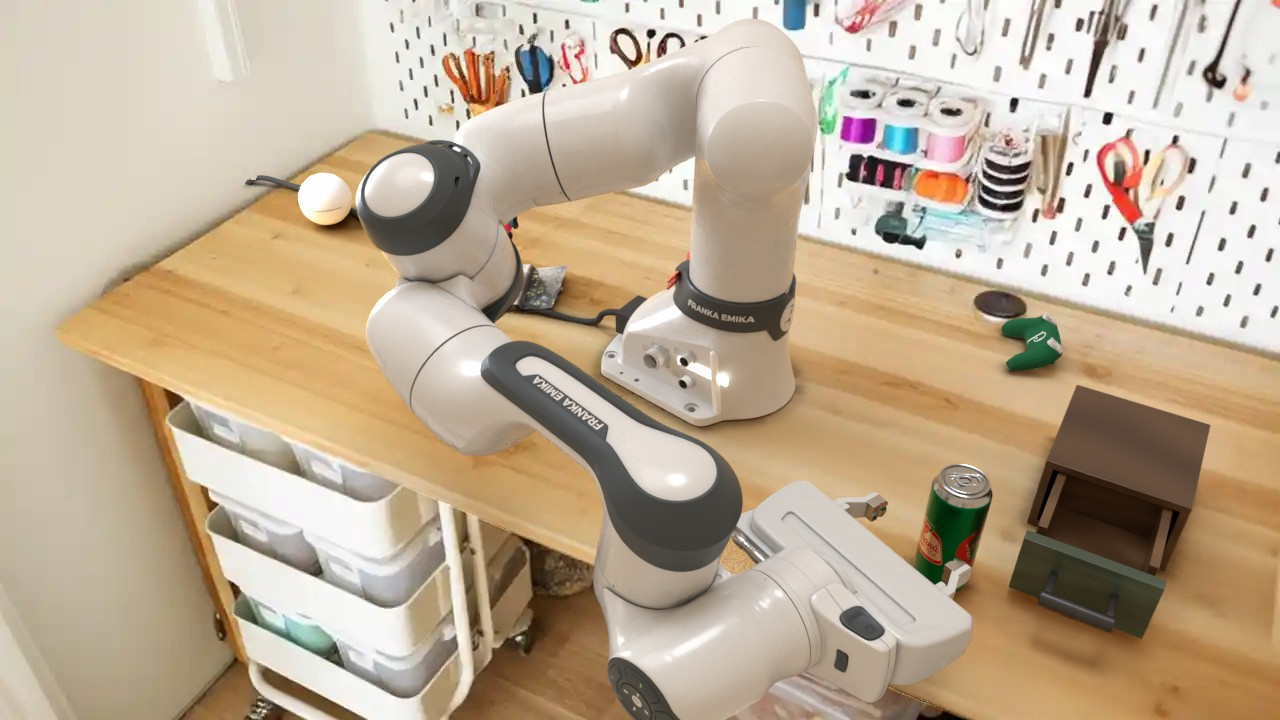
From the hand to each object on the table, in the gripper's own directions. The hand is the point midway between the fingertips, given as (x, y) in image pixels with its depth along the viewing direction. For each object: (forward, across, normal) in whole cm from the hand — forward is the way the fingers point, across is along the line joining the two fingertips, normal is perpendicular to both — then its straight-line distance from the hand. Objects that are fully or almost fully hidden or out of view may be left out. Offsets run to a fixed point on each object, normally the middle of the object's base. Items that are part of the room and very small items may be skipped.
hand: (921, 533), depth 89 cm
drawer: (+14, +8, -7) cm, 18 cm away
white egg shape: (-18, -95, -8) cm, 97 cm away
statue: (-4, -64, -8) cm, 65 cm away
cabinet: (+26, +3, -8) cm, 27 cm away
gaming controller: (+40, -18, -8) cm, 45 cm away
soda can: (+4, 0, -8) cm, 9 cm away
